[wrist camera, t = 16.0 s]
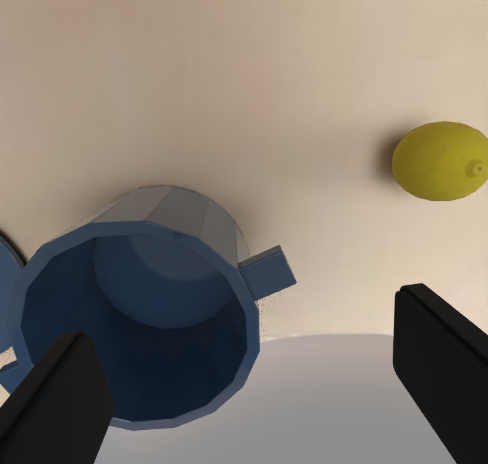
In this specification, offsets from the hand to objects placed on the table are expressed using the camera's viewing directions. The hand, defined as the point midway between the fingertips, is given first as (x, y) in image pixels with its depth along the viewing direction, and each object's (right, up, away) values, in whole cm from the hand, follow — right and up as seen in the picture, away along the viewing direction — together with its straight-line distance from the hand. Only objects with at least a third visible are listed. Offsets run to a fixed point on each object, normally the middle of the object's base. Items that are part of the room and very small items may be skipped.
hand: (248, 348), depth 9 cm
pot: (-7, +1, +19) cm, 20 cm away
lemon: (+14, +10, +17) cm, 24 cm away
